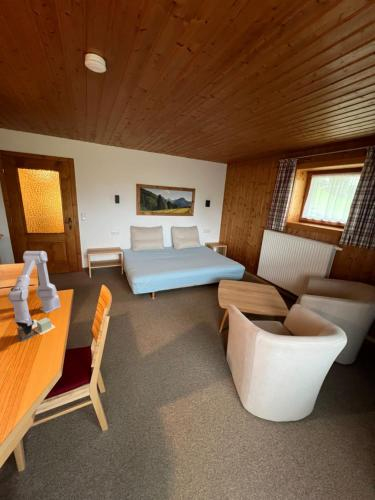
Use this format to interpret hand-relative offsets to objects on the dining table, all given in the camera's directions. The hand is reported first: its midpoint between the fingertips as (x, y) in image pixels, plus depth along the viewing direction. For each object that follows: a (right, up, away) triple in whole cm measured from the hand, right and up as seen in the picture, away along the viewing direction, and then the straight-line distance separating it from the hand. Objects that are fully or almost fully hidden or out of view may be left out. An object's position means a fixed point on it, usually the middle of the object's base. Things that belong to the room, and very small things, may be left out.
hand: (25, 331), depth 109 cm
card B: (+5, -1, +7) cm, 9 cm away
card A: (-5, 0, +9) cm, 10 cm away
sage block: (+5, -1, +7) cm, 9 cm away
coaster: (0, -3, +1) cm, 3 cm away
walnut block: (0, -2, 0) cm, 2 cm away
